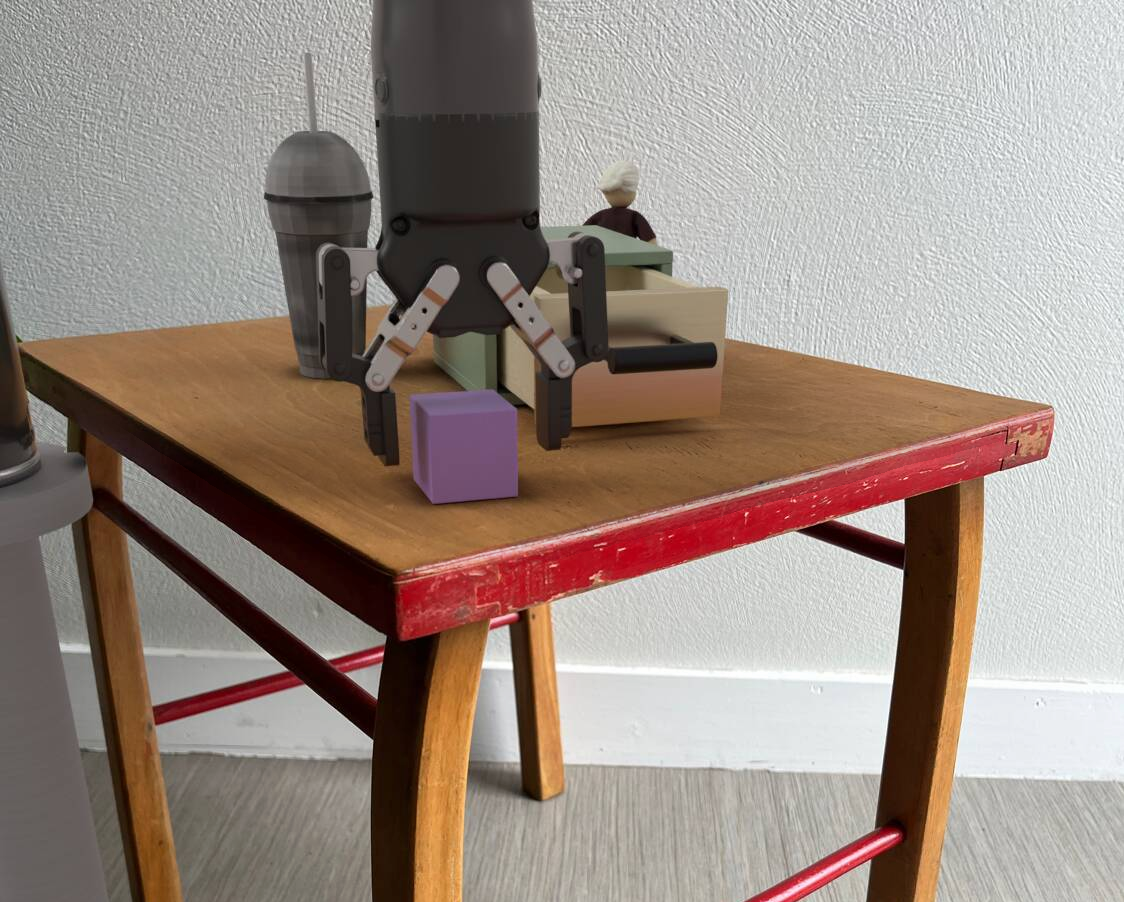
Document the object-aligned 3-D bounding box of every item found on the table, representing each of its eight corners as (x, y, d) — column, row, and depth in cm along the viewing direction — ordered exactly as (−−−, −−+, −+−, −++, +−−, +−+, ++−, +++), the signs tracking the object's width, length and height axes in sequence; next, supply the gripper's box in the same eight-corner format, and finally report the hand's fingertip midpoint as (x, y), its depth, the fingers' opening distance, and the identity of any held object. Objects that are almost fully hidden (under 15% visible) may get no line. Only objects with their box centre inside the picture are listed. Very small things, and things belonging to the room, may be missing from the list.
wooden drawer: (756, 436, 73) (766, 303, 70) (566, 451, 70) (568, 312, 67) (639, 370, 89) (643, 258, 85) (479, 380, 86) (476, 264, 82)
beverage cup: (281, 384, 88) (249, 52, 78) (279, 363, 94) (249, 52, 85) (388, 380, 89) (369, 53, 80) (379, 359, 96) (361, 53, 86)
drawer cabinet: (667, 394, 86) (673, 250, 82) (485, 407, 83) (482, 257, 78) (594, 352, 98) (596, 225, 94) (433, 362, 95) (428, 230, 91)
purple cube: (432, 504, 65) (429, 415, 63) (413, 479, 68) (409, 394, 66) (518, 496, 66) (517, 408, 64) (494, 473, 70) (493, 388, 68)
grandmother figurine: (664, 322, 110) (671, 159, 104) (656, 330, 107) (663, 163, 101) (576, 318, 111) (578, 157, 105) (566, 326, 108) (567, 160, 102)
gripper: (577, 100, 64) (576, 426, 72) (288, 103, 60) (320, 448, 68) (631, 104, 58) (624, 461, 65) (313, 108, 54) (345, 488, 61)
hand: (469, 454), depth 66 cm, fingers open, 8 cm apart
